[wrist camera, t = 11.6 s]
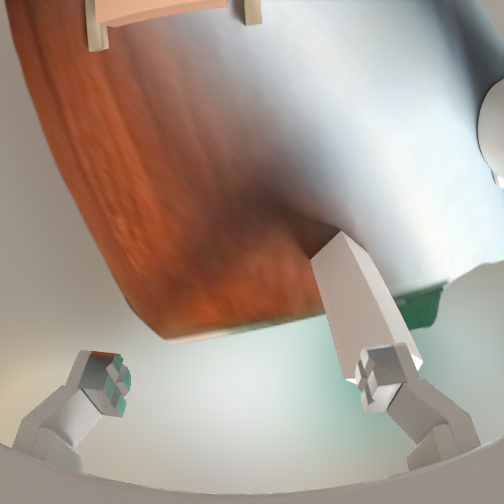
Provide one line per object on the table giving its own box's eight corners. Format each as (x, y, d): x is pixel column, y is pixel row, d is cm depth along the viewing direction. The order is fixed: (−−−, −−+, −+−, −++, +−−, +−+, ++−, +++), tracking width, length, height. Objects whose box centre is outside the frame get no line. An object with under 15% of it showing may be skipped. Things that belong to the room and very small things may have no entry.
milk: (340, 229, 40) (408, 371, 21) (368, 253, 42) (436, 386, 24) (308, 260, 42) (350, 408, 24) (337, 281, 45) (385, 418, 26)
